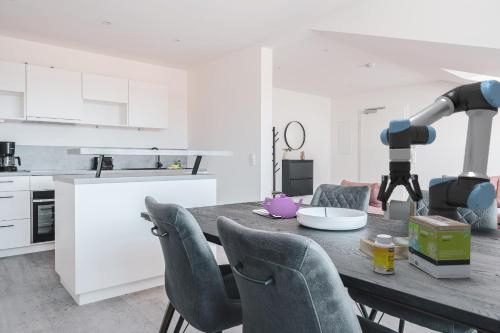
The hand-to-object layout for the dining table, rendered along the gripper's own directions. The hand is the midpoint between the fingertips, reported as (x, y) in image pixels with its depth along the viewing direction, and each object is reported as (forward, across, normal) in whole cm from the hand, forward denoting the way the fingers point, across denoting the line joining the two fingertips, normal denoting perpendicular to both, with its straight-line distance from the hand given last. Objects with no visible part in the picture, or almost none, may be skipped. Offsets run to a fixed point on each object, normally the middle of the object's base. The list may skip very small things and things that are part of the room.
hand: (400, 218), depth 138 cm
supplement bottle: (+8, +25, +32) cm, 41 cm away
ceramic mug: (+1, -1, -1) cm, 1 cm away
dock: (+9, +12, +15) cm, 21 cm away
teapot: (+9, +30, -65) cm, 72 cm away
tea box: (+9, +9, +33) cm, 35 cm away
